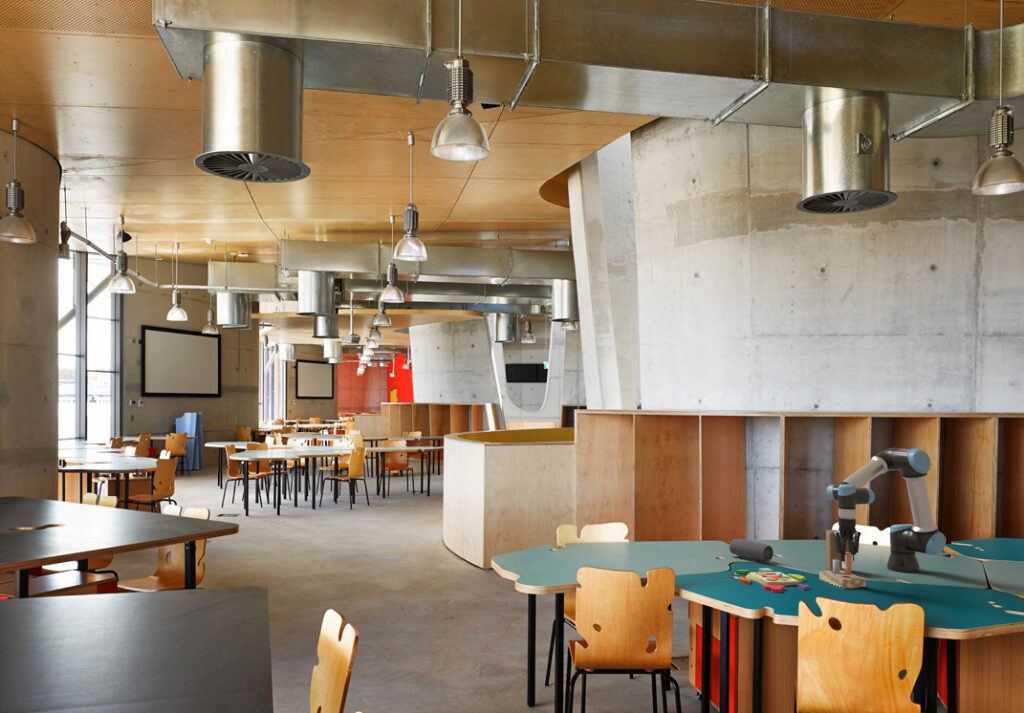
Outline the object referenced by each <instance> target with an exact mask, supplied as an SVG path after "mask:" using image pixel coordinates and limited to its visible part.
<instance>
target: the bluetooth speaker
mask: <svg viewBox="0 0 1024 713" xmlns="http://www.w3.org/2000/svg"><path fill="white" fill-rule="evenodd" d="M728 548H729V551H730V553H731V554H733V555H736V556H739V557H741V558H742V559H744V560H748V561H752V562H761V561H763V562H769V561H771V560H772V558H773V557H774V549H773V547H772V546H771V545H768V544H766V543H761V542H757V541H753V540H747V539H741V538H733V539H732V540H730V543H729V547H728Z"/></svg>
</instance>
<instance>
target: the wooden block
mask: <svg viewBox="0 0 1024 713" xmlns="http://www.w3.org/2000/svg"><path fill="white" fill-rule="evenodd" d="M836 531H838V529H836V530H835V529H826V530H825V564H826V565H825V566H826V569H827V571H833V560H839V566H840V570H842V571H844V568H842V561H841V554H840V553H838V552H837V551H836V543H835V536H834V534H833V532H836ZM840 539H841V534H840ZM846 552H849V545H848V539H847V542H846Z"/></svg>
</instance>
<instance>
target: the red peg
mask: <svg viewBox="0 0 1024 713" xmlns="http://www.w3.org/2000/svg"><path fill="white" fill-rule="evenodd" d="M845 555H847V569H844V574H845V575H851V574H852V569H851V553H850V552H845Z"/></svg>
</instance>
